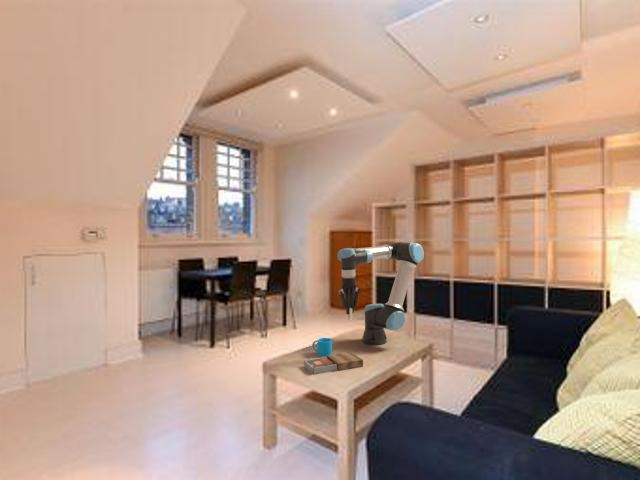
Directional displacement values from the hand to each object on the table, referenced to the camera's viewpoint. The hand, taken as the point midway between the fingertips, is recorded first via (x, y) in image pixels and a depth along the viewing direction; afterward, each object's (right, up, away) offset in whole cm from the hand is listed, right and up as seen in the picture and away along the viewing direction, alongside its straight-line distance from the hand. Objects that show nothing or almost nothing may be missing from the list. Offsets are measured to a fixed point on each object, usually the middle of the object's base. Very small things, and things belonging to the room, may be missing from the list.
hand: (350, 319), depth 215 cm
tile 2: (-14, -20, -14) cm, 28 cm away
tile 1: (-17, -19, -16) cm, 30 cm away
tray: (-16, -22, -15) cm, 31 cm away
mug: (-16, -21, +7) cm, 27 cm away
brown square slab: (-4, -21, -9) cm, 23 cm away
